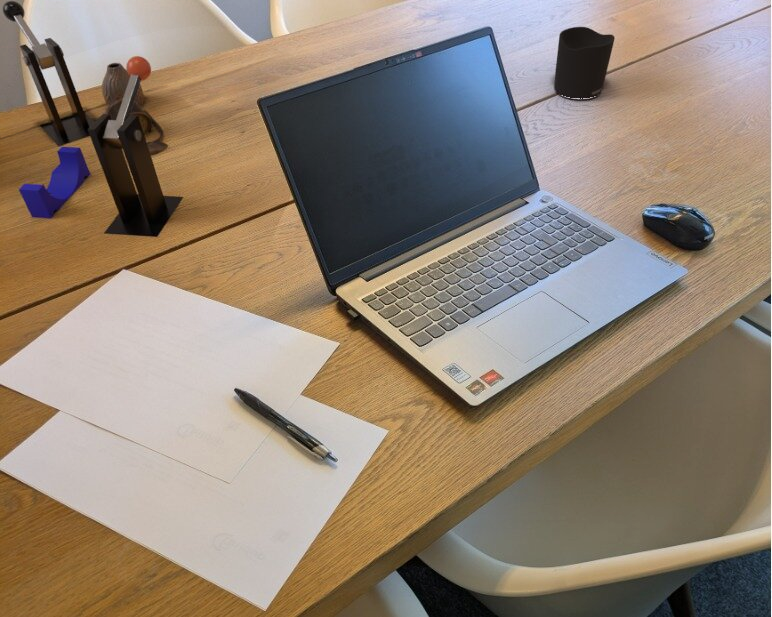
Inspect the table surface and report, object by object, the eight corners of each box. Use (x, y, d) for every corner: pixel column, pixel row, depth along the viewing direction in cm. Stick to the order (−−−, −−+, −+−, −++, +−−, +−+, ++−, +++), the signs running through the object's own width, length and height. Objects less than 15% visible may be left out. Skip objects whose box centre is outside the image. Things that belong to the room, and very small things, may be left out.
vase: (112, 105, 125) (96, 59, 119) (149, 101, 125) (135, 55, 120) (107, 122, 120) (91, 75, 114) (146, 117, 120) (132, 71, 115)
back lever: (2, 15, 111) (-4, -1, 108) (21, 10, 112) (16, -6, 109) (39, 72, 107) (35, 57, 105) (59, 67, 109) (55, 52, 106)
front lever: (136, 67, 93) (125, 50, 90) (157, 68, 93) (147, 51, 90) (109, 150, 88) (97, 135, 85) (131, 151, 87) (120, 136, 85)
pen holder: (557, 103, 119) (566, 48, 112) (546, 81, 126) (554, 27, 119) (609, 101, 119) (621, 45, 112) (595, 78, 126) (606, 25, 119)
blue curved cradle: (67, 179, 106) (53, 146, 101) (93, 181, 105) (80, 147, 101) (26, 223, 97) (8, 188, 93) (54, 225, 96) (38, 190, 92)
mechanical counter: (160, 94, 115) (98, 92, 111) (168, 118, 106) (100, 117, 102) (162, 134, 119) (102, 133, 115) (170, 161, 109) (105, 161, 106)
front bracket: (136, 201, 100) (102, 103, 90) (185, 204, 99) (157, 105, 89) (106, 240, 93) (65, 139, 82) (159, 244, 92) (125, 142, 81)
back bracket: (42, 132, 118) (4, 43, 107) (86, 117, 121) (53, 30, 111) (61, 153, 112) (23, 61, 101) (106, 137, 115) (74, 47, 105)
